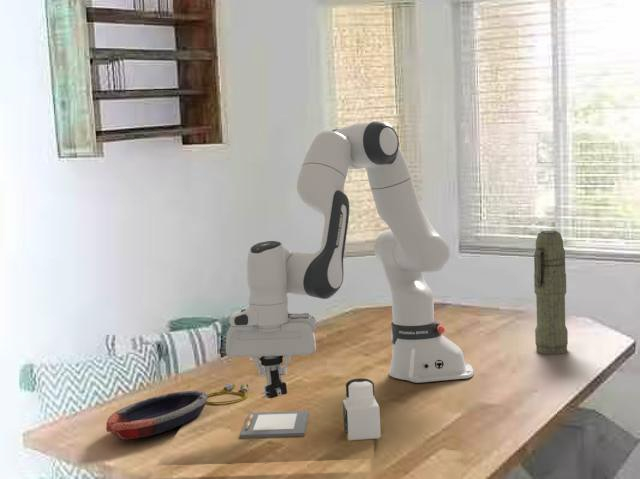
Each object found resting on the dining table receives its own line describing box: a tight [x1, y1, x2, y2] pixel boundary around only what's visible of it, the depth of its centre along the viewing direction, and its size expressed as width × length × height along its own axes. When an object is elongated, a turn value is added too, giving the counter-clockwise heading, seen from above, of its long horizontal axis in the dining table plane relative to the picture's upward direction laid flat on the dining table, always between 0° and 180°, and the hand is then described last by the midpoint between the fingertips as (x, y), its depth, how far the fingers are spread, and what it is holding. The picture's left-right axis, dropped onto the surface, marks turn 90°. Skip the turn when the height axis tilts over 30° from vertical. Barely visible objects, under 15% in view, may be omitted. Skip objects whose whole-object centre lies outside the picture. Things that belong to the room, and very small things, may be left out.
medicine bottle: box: [342, 378, 382, 441], centre depth 193 cm, size 7×7×12 cm
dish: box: [105, 390, 208, 440], centre depth 208 cm, size 16×31×5 cm, turn 145°
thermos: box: [533, 230, 569, 356], centre depth 255 cm, size 9×12×35 cm
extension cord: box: [206, 381, 250, 406], centre depth 229 cm, size 12×16×2 cm
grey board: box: [239, 410, 309, 439], centre depth 203 cm, size 14×16×1 cm
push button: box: [259, 356, 288, 399], centre depth 202 cm, size 7×5×10 cm
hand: (272, 374), depth 202 cm, fingers closed on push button, 3 cm apart
